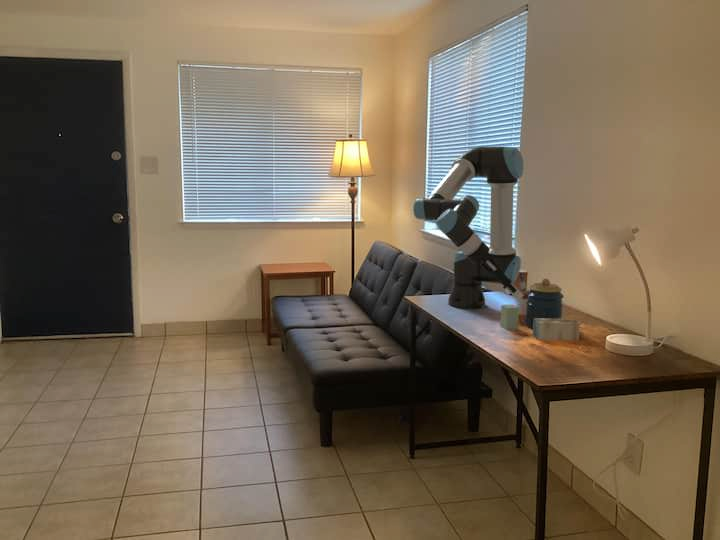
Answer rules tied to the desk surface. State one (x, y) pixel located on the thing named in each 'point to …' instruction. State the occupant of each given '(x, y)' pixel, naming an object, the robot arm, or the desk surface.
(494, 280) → the robot arm
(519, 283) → the small box
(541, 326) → the tall white box
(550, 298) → the canister
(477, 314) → the desk surface
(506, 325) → the sage block
